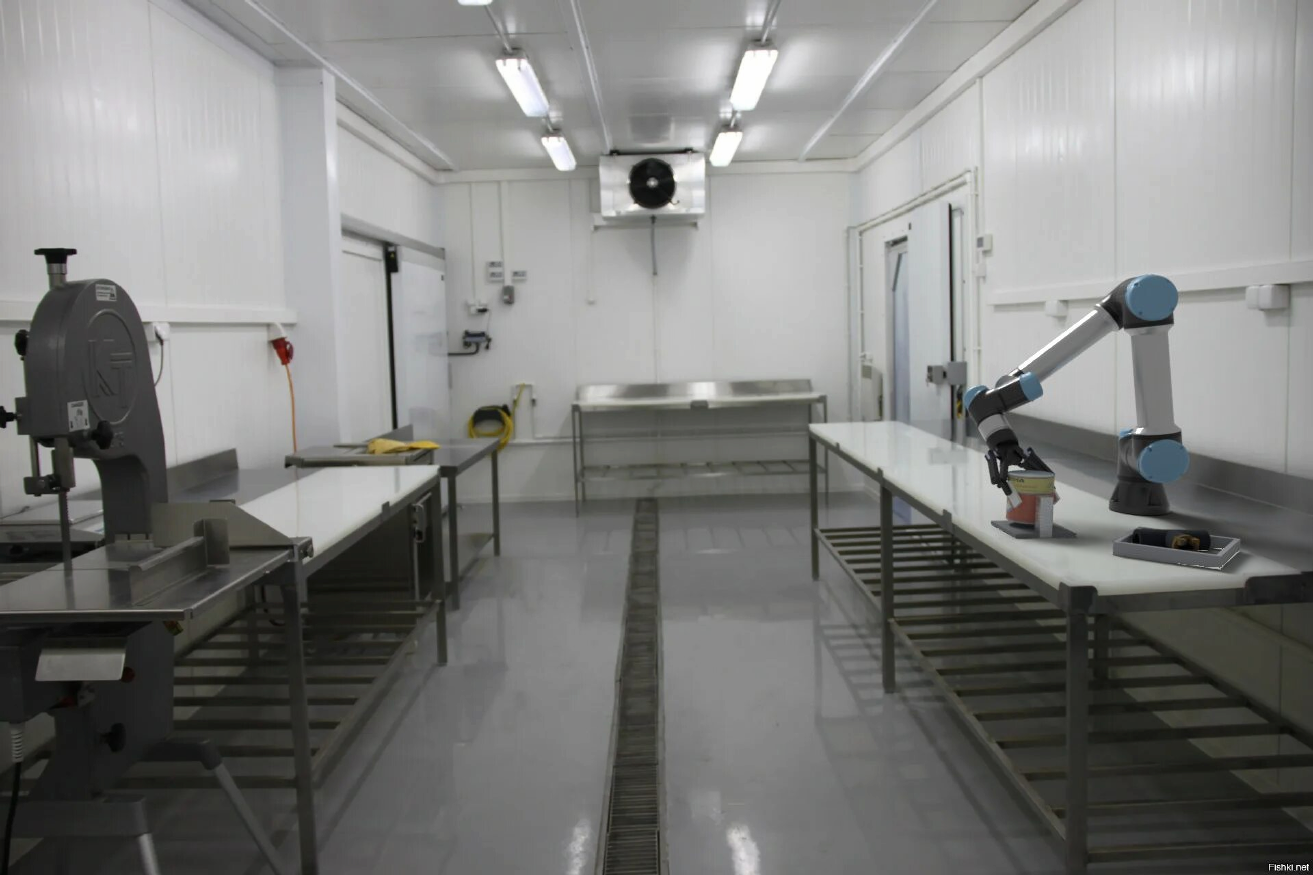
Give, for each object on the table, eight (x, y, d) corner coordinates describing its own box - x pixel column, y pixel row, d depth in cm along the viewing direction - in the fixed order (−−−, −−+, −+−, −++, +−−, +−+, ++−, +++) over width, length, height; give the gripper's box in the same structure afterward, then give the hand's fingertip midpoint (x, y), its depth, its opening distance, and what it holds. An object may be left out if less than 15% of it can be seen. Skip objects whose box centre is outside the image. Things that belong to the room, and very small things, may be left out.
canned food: (999, 515, 237) (1000, 470, 236) (1042, 515, 237) (1044, 469, 236) (1014, 524, 226) (1016, 477, 225) (1060, 524, 226) (1062, 476, 224)
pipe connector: (1226, 537, 199) (1154, 536, 200) (1224, 561, 199) (1153, 559, 201) (1200, 527, 210) (1132, 526, 212) (1199, 549, 210) (1131, 548, 212)
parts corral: (1239, 551, 206) (1240, 538, 206) (1220, 570, 191) (1220, 556, 190) (1138, 538, 220) (1139, 526, 220) (1112, 554, 205) (1113, 541, 204)
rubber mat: (990, 524, 238) (990, 520, 238) (1047, 523, 238) (1047, 519, 238) (1015, 538, 222) (1015, 534, 222) (1076, 537, 222) (1076, 533, 222)
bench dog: (1034, 535, 225) (1036, 495, 224) (1046, 534, 225) (1048, 495, 224) (1039, 537, 222) (1041, 497, 221) (1051, 537, 222) (1053, 497, 221)
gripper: (1027, 442, 248) (1067, 508, 235) (955, 446, 240) (991, 515, 228) (1042, 425, 242) (1083, 491, 229) (968, 428, 235) (1006, 497, 222)
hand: (1037, 503), depth 228 cm, fingers closed on canned food, 11 cm apart
